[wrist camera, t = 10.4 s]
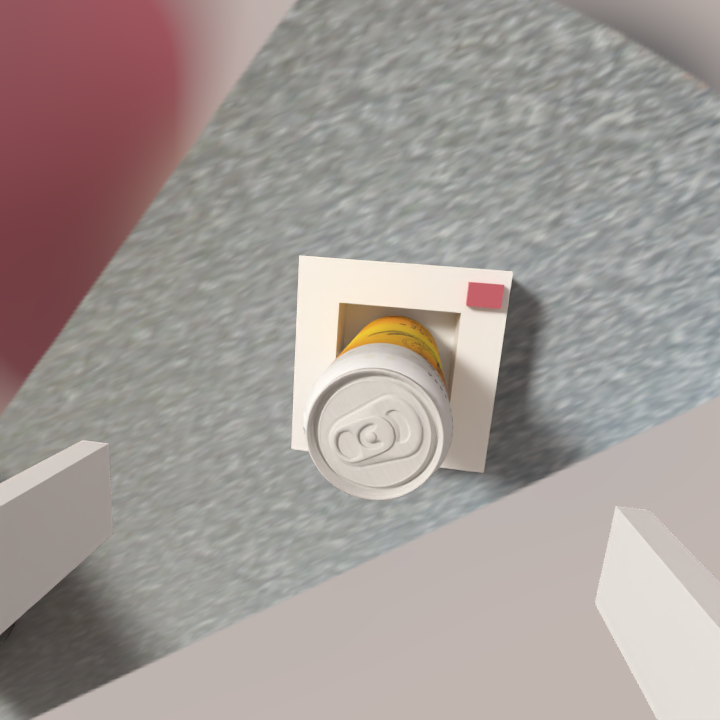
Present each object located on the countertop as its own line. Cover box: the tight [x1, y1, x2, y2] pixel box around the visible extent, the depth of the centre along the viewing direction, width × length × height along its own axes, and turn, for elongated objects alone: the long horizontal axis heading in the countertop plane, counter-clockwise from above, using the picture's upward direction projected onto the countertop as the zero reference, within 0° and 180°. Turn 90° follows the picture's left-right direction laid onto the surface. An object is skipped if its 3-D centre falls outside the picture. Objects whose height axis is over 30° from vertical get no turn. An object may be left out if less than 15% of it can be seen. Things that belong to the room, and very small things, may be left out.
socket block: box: [291, 256, 513, 473], centre depth 30 cm, size 13×13×4 cm
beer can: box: [303, 316, 453, 500], centre depth 24 cm, size 6×6×15 cm
